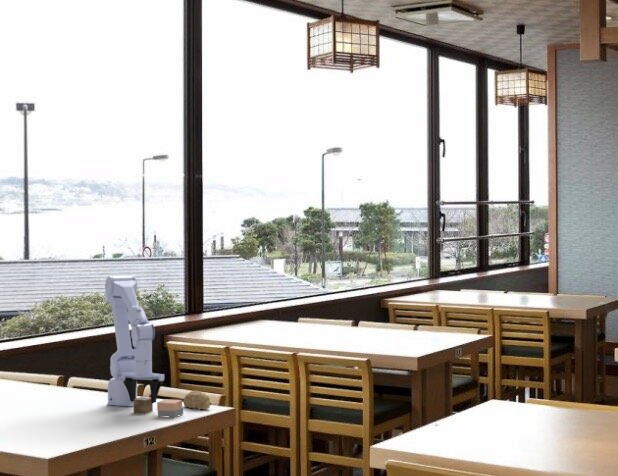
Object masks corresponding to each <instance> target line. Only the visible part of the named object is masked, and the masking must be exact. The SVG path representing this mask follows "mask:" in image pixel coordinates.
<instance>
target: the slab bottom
mask: <svg viewBox="0 0 618 476" xmlns="http://www.w3.org/2000/svg"><path fill="white" fill-rule="evenodd" d="M181 414H183V415H184V407H182V408H180V409H178V410H176V411H160V410H157V417H158V416H169V417H176V416H178V415H180V416H182V415H181ZM169 417H168V418H169ZM178 417H179V416H178ZM176 418H177V417H176Z"/></svg>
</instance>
